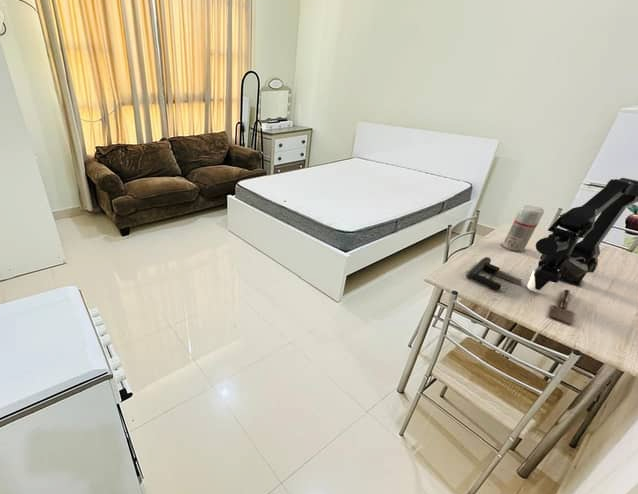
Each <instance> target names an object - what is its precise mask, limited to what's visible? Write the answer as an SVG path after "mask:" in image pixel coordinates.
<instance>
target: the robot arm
mask: <svg viewBox="0 0 638 494" xmlns="http://www.w3.org/2000/svg"><path fill="white" fill-rule="evenodd" d="M637 203H638V180H636V179H632V178H631V179H630V178H626V177H621V178H619V179H618V178H611V179H610V180H609V181H607V183H606V185H605V186H604V187H603V188H601V190H599V191H597V193H596V194H595V195H593V196H592V197H591V198H589V200H587V201H586V202H585V203H583V204H582V205H580V206H576V207H572V208H570V209H569V210H568V211H566V212H564V213H562V214H561V215H560V216H559V217H558V218H557V219H556V220H555V221H554V222H553V223H552V225H550V227H549V228H548V229H547V231H548V232H551V233H550V234H549V235H548V236H546V237H543V238H541V239H539V240H537V241H536V242H535V249H536V251H537V252H538V253H539V254H541V255H540V257H539V261H538V264H537V267H536V268H537V269H536V271H535V273H534V276H535V289H537V290H540V289H541V288H542V287H543V286H545V285H546V284H547V283H548V282H549V281H551V282H554V284H557V283H559V281H562V282H566V283H568V284H571V285H575V286H578V287H579V286H581V282H582V281H583V280H584V278H585V276H586V275H587V273H588V274H589V273H590V274H591V273H593V274H594V273H595V271H596V269H597V268H598V267H599V256H600V255H601V250H600V249H601V248H600V245H601V243H602V242H603V241H604V239H605V238H606V237H607V235H608V234H609V232H611V229H612V228H613V226H615V224H616V223H617V221H618V220H619V218H620V217H621V215H622V214H623V213H624V211H625V210H626V209H627V208H628V207H630V206H632V205H634V204H637ZM580 239H581V240H580Z"/></svg>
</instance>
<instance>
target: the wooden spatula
mask: <svg viewBox="0 0 638 494" xmlns="http://www.w3.org/2000/svg"><path fill="white" fill-rule="evenodd" d="M570 294H571V291H570V290H569V289H564V290H563V292H562V295H561V301H560V305H559V306H558V305H556V304H554V305H552V307H551V311H550V315H549V318H550V319H552V320H555V321H559V322H561V323H564V324H565V325H566V324H567V325H568V326H570V325H571V324H572V319H573V313H574V312H573V311H572V310H568V309H567V307H568V303H569V298H570Z"/></svg>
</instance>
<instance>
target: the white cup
mask: <svg viewBox="0 0 638 494" xmlns="http://www.w3.org/2000/svg"><path fill="white" fill-rule="evenodd" d="M536 269H537V267H535V268H533V270H532V272H531V274H530V277H529V280H528V282H527V285H526V287H527V288H528V289H529V290H530V291H532V292H535V293H538V294H542V295H543V294H546V293H547V292H548V291H549V290H550V289H551V288H552V286H553V285H554V284H555V283H554V282H551V281H549V282H548V283H547V284H546V285H545V286H543V287H542V288H541V289H540V290H537V289H535V276H534V273H535V271H536Z"/></svg>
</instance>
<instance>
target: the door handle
mask: <svg viewBox="0 0 638 494" xmlns="http://www.w3.org/2000/svg"><path fill="white" fill-rule="evenodd" d="M491 262H492V259H491V258H490V257H488V256H486V257H483V258H480V261H478V262H477V263H476V265H474V266H473V267H472V268H470V270H469V271H468V270H466V272H464V273H465V277H466V279H467V280H471V281H474V282H476V283H479V284H481V285H483V286H485V287H488V288H490V289H492V290H494V291H500V289H502V284H501V283H499V282H497V281H494V280H492V279H493V278H494V277H496V276H497V277H500V278H503V279H505V280H507V281H510V282H512V283H514V284H517V285H521V284H522V282H523V279H522V278H520V277H517V276H515V275H512V274H510V273H508V272H506V271H504V270H500V269H501V267H499V266H496V265H495V264H491ZM482 272H483V273H486V274H489V275H491V276H490V277H489V278H488V277H487V276H486V275H481V274H480V273H482Z"/></svg>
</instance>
